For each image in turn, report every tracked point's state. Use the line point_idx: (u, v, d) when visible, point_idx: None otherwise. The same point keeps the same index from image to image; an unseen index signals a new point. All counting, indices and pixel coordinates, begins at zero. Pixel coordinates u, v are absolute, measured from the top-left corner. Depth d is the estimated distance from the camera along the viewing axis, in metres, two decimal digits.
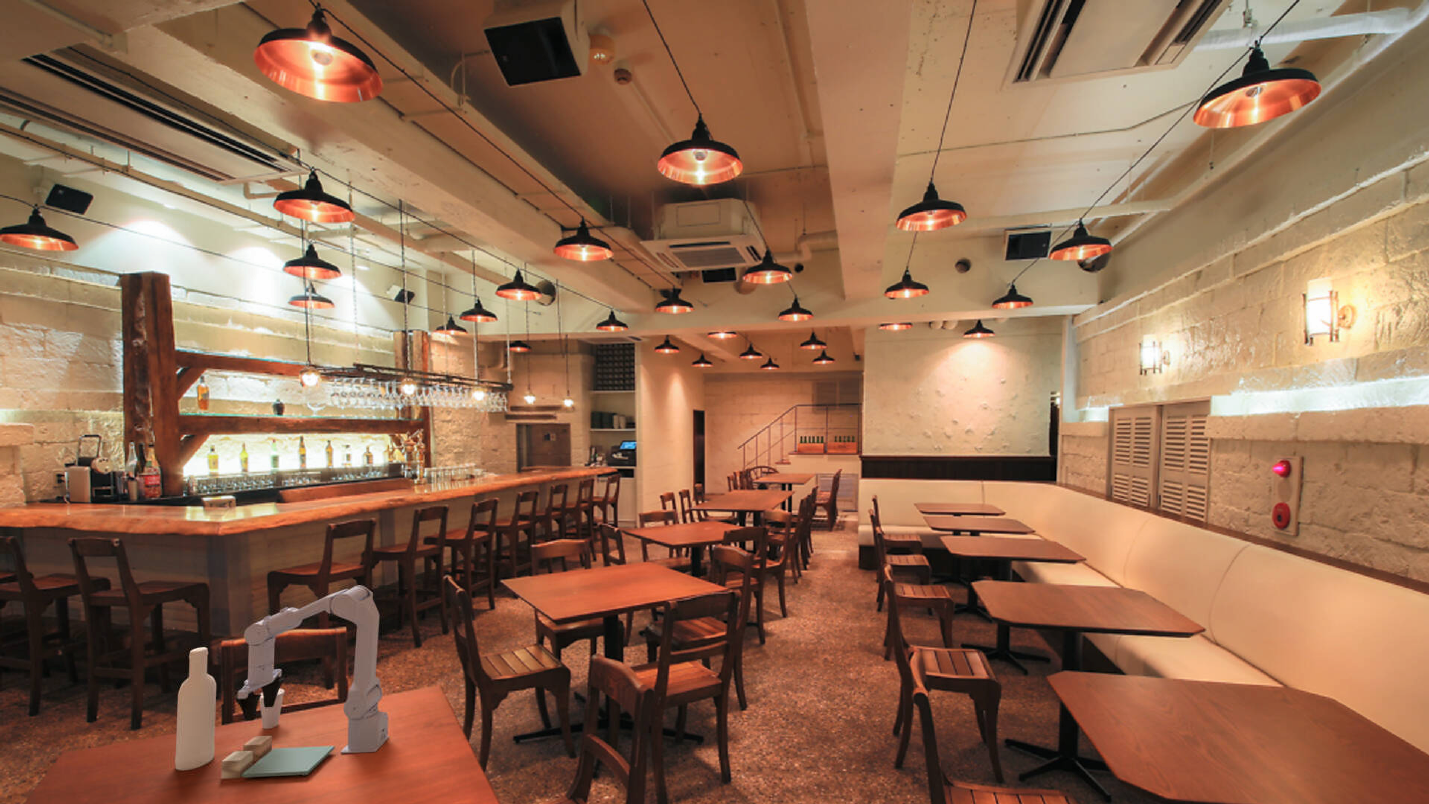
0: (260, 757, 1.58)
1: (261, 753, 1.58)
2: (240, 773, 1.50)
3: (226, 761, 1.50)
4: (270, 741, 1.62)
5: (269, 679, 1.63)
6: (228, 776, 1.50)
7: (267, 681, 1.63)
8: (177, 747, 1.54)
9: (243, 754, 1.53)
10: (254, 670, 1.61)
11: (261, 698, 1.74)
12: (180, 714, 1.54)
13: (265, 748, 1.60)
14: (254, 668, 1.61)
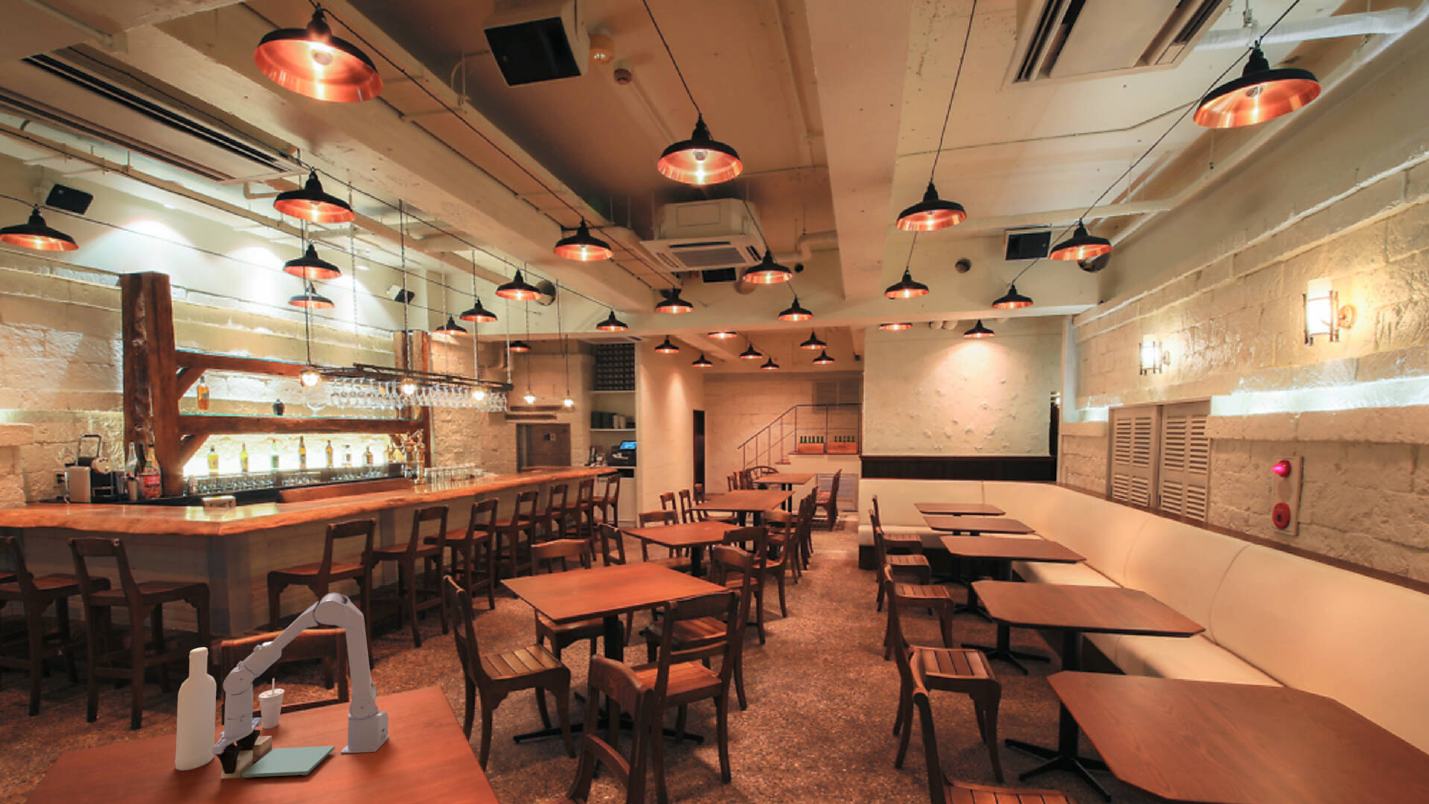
0: (260, 757, 1.58)
1: (261, 753, 1.58)
2: (240, 773, 1.50)
3: None
4: (270, 741, 1.62)
5: (247, 731, 1.52)
6: (228, 776, 1.50)
7: (245, 733, 1.52)
8: (177, 747, 1.54)
9: (243, 754, 1.53)
10: (230, 722, 1.50)
11: (261, 698, 1.74)
12: (180, 713, 1.54)
13: (265, 748, 1.60)
14: (231, 720, 1.50)
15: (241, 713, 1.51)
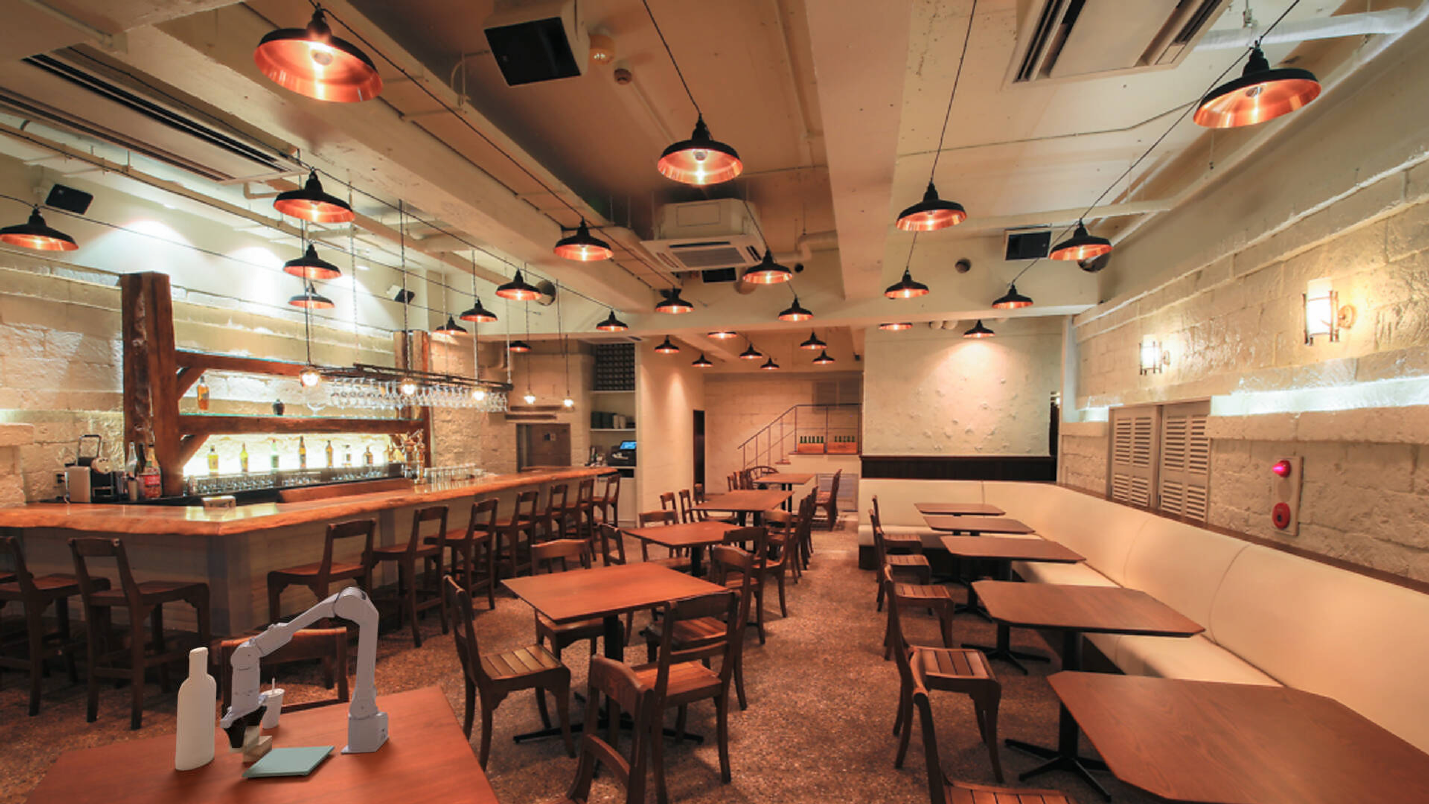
0: (260, 757, 1.58)
1: (261, 753, 1.58)
2: (247, 747, 1.51)
3: None
4: (270, 741, 1.62)
5: (254, 706, 1.53)
6: (235, 750, 1.51)
7: (252, 708, 1.52)
8: (177, 747, 1.54)
9: (250, 729, 1.54)
10: (238, 697, 1.51)
11: None
12: (180, 714, 1.54)
13: (265, 748, 1.60)
14: (238, 694, 1.51)
15: (248, 688, 1.52)
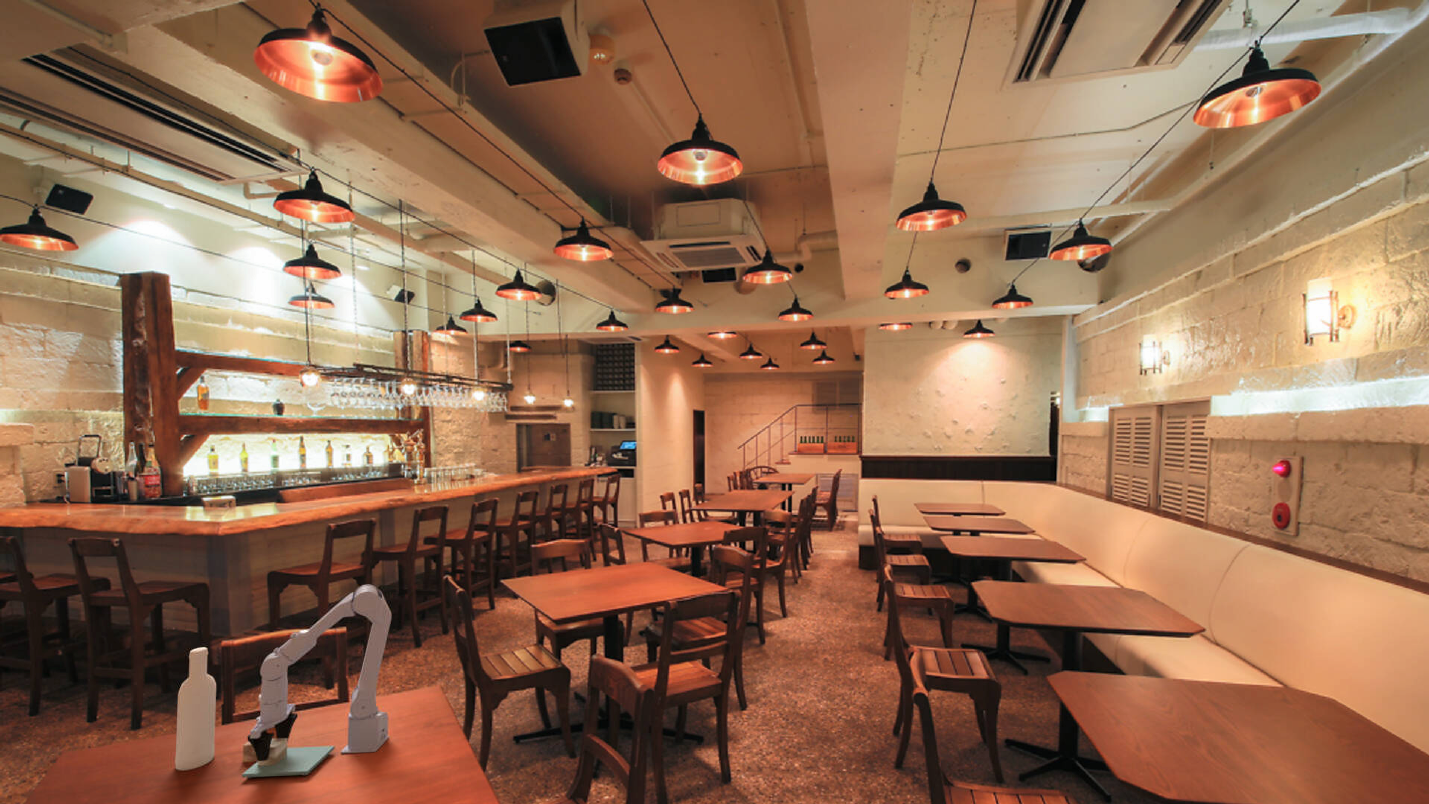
0: None
1: None
2: (276, 760, 1.53)
3: None
4: None
5: (283, 716, 1.55)
6: (264, 763, 1.53)
7: (280, 718, 1.54)
8: (177, 747, 1.54)
9: (278, 741, 1.56)
10: (267, 707, 1.53)
11: None
12: (180, 714, 1.54)
13: None
14: (267, 705, 1.53)
15: (277, 698, 1.54)
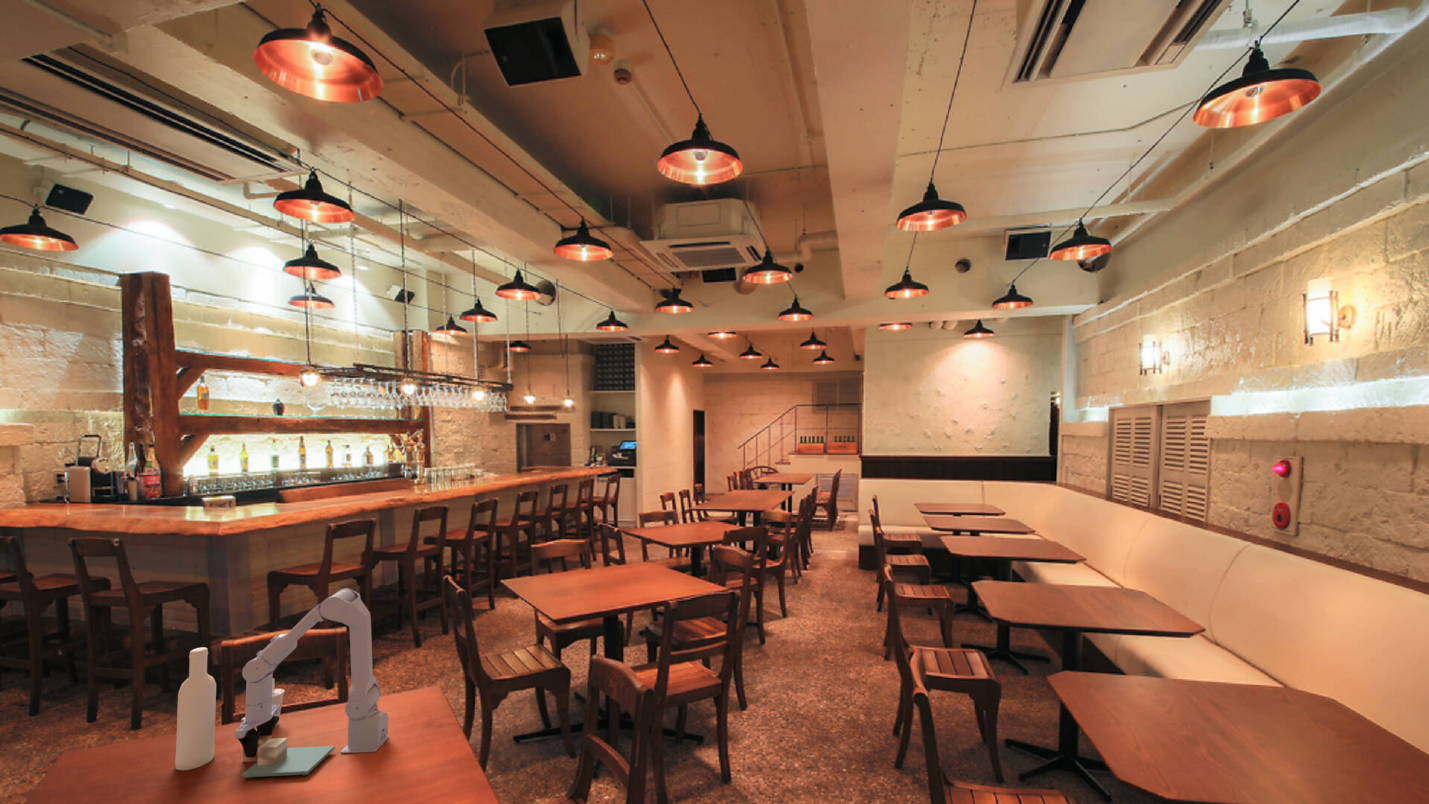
0: None
1: None
2: (276, 760, 1.53)
3: (262, 748, 1.53)
4: None
5: (267, 716, 1.60)
6: (264, 763, 1.53)
7: (265, 719, 1.59)
8: (177, 747, 1.54)
9: (278, 741, 1.56)
10: (251, 708, 1.58)
11: None
12: (180, 713, 1.54)
13: None
14: (252, 706, 1.58)
15: (258, 700, 1.58)
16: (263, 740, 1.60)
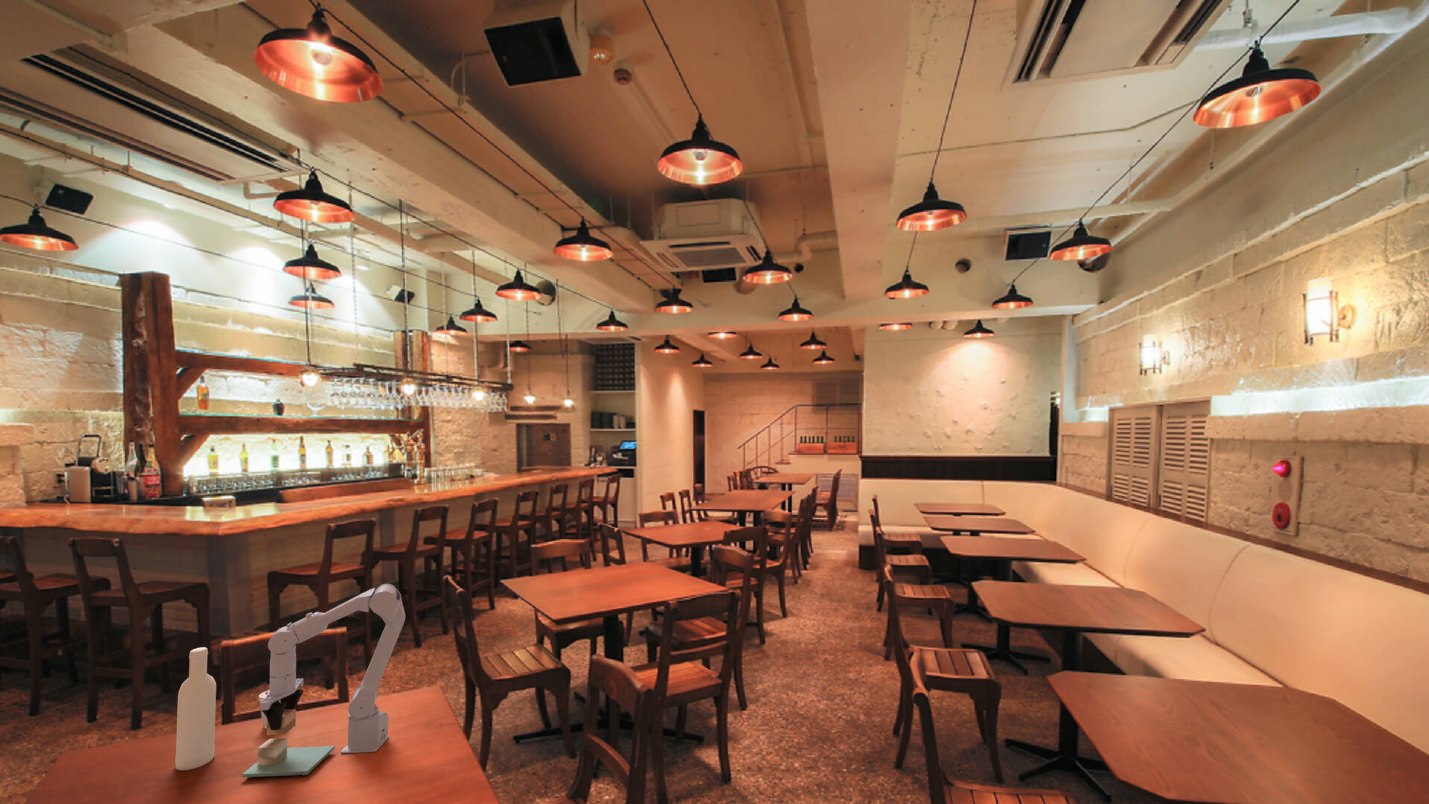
0: (284, 730, 1.56)
1: (285, 726, 1.56)
2: (276, 760, 1.53)
3: (262, 748, 1.53)
4: (294, 715, 1.60)
5: (291, 689, 1.58)
6: (264, 763, 1.53)
7: (289, 691, 1.57)
8: (177, 747, 1.54)
9: (278, 741, 1.56)
10: (276, 680, 1.55)
11: (261, 698, 1.74)
12: (180, 713, 1.54)
13: (289, 721, 1.57)
14: (276, 678, 1.56)
15: (285, 672, 1.56)
16: (287, 713, 1.58)
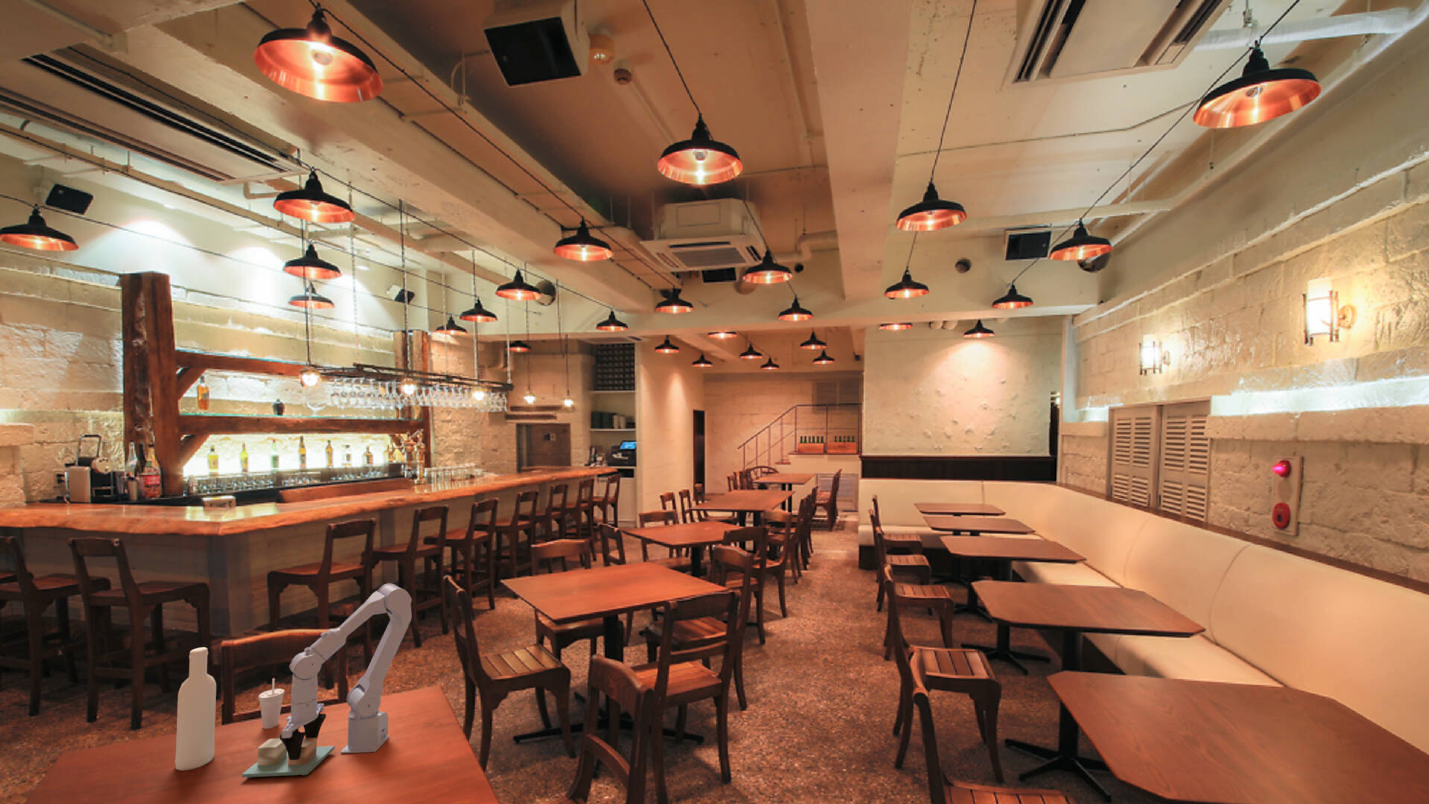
0: (305, 760, 1.53)
1: (306, 756, 1.53)
2: (276, 760, 1.53)
3: (262, 748, 1.53)
4: (315, 744, 1.57)
5: (313, 716, 1.55)
6: (264, 763, 1.53)
7: (311, 718, 1.54)
8: (177, 747, 1.54)
9: (278, 741, 1.56)
10: (297, 707, 1.53)
11: (261, 698, 1.74)
12: (180, 714, 1.54)
13: (310, 750, 1.55)
14: (298, 704, 1.53)
15: (311, 697, 1.55)
16: (308, 743, 1.55)
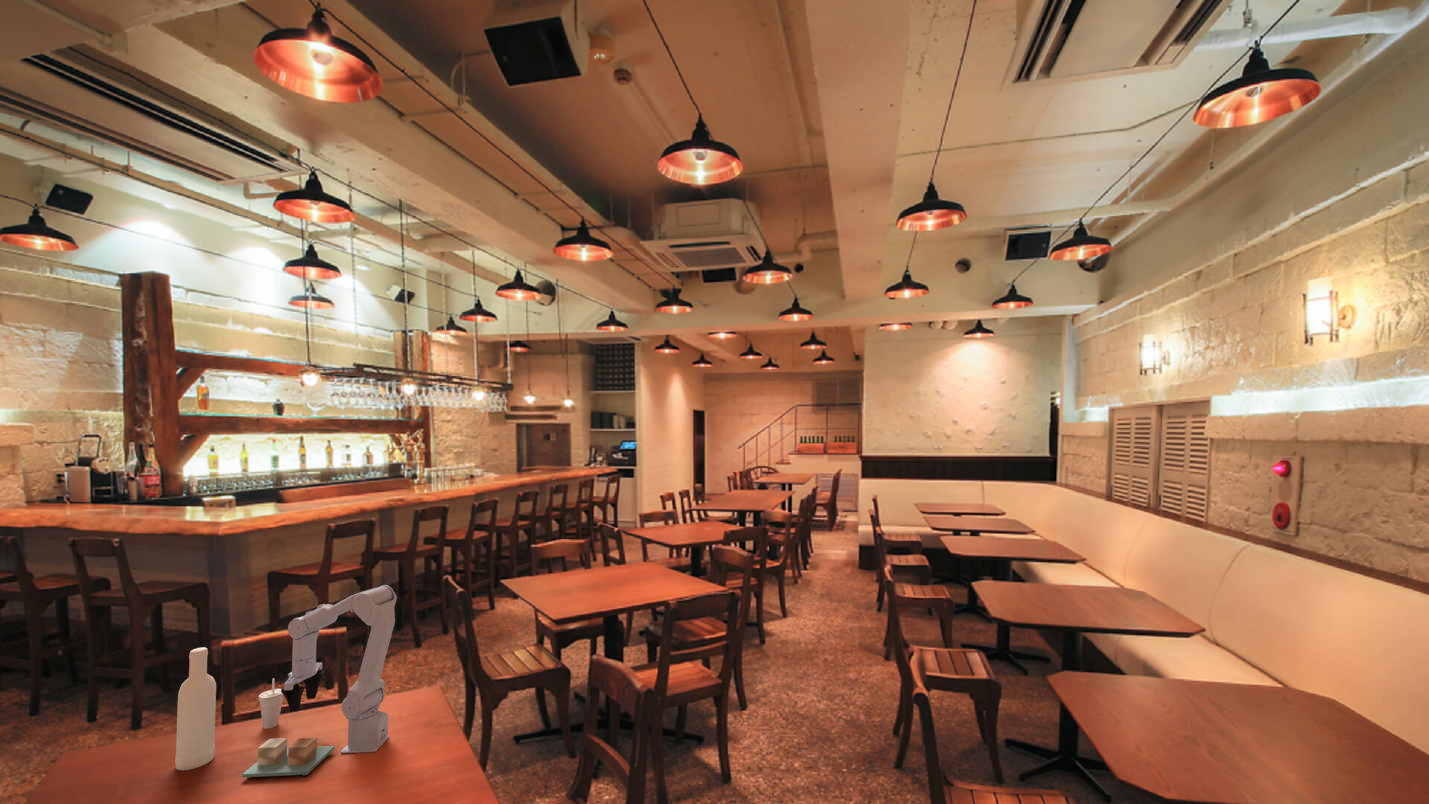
0: (305, 760, 1.53)
1: (306, 756, 1.53)
2: (276, 760, 1.53)
3: (262, 748, 1.53)
4: (315, 744, 1.57)
5: (312, 672, 1.70)
6: (264, 763, 1.53)
7: (310, 673, 1.69)
8: (177, 747, 1.54)
9: (278, 741, 1.56)
10: (298, 663, 1.68)
11: (261, 698, 1.74)
12: (180, 714, 1.54)
13: (310, 750, 1.55)
14: (298, 661, 1.68)
15: (299, 657, 1.68)
16: (308, 743, 1.55)
